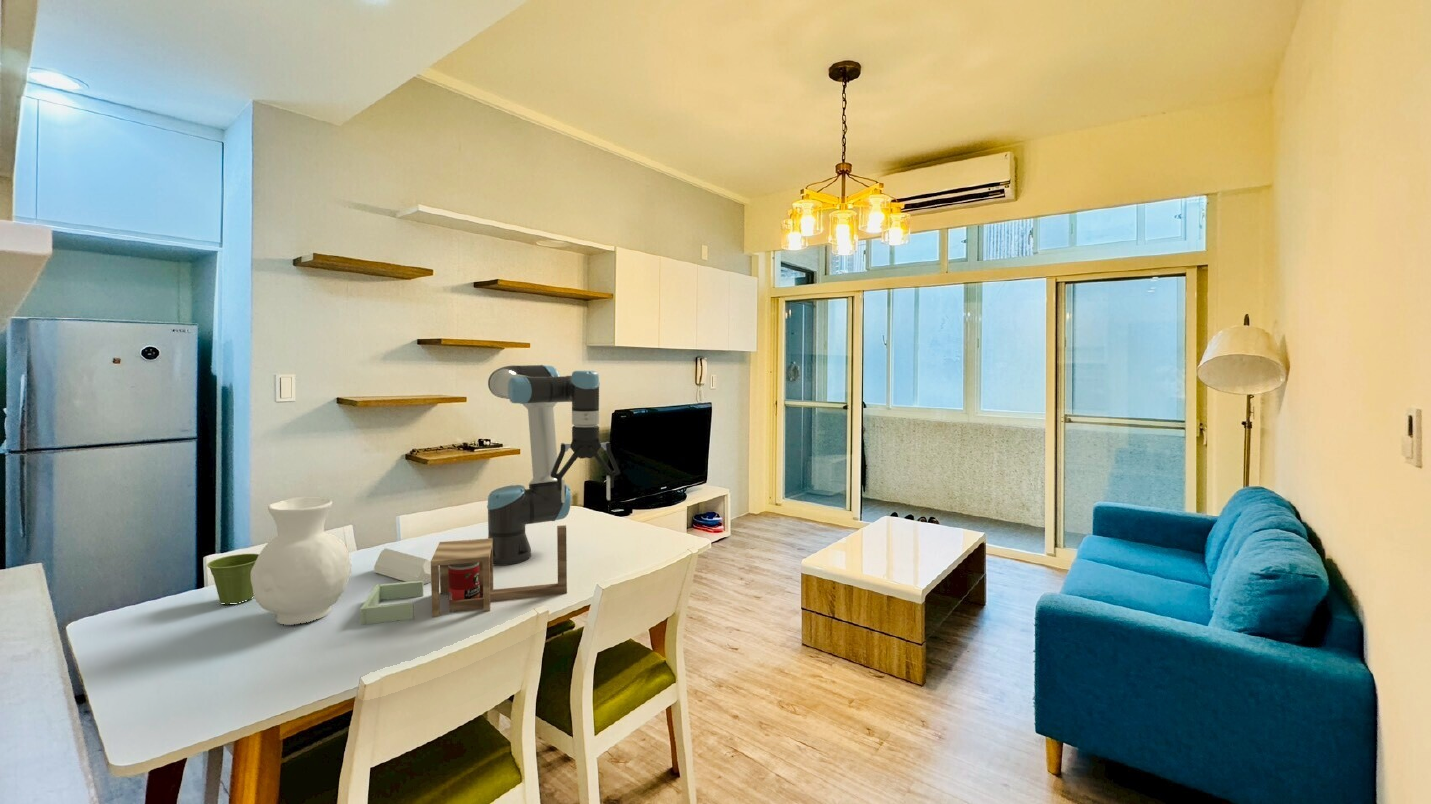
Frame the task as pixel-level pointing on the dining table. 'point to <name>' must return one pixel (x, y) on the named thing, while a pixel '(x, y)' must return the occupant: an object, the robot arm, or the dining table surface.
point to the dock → (390, 611)
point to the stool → (456, 555)
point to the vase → (300, 563)
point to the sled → (527, 590)
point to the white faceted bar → (403, 566)
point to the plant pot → (233, 577)
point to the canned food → (464, 581)
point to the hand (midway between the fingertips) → (585, 500)
